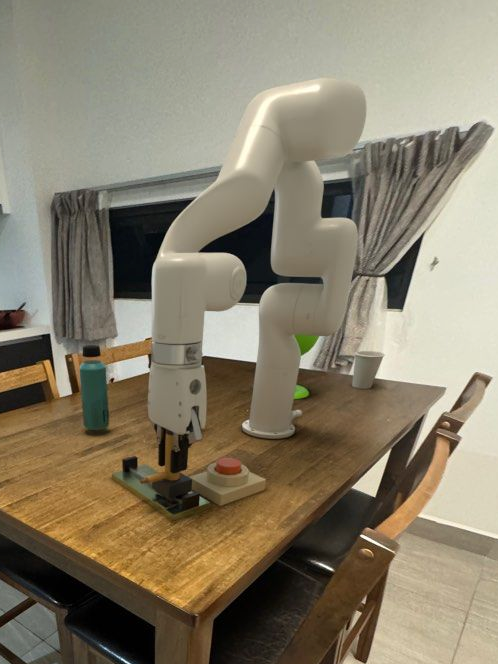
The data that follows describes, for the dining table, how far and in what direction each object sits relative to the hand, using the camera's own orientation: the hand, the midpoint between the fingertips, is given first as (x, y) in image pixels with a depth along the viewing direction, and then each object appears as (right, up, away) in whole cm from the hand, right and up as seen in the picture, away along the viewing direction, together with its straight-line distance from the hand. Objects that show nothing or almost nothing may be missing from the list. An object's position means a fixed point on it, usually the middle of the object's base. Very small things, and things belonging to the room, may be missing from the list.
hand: (172, 466), depth 77 cm
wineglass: (+40, +33, +63) cm, 82 cm away
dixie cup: (+67, +37, +68) cm, 102 cm away
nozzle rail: (-2, -4, +7) cm, 8 cm away
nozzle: (-2, -5, +2) cm, 6 cm away
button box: (+11, -3, +7) cm, 13 cm away
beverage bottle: (-16, +14, +35) cm, 41 cm away
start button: (+11, 0, +6) cm, 12 cm away
